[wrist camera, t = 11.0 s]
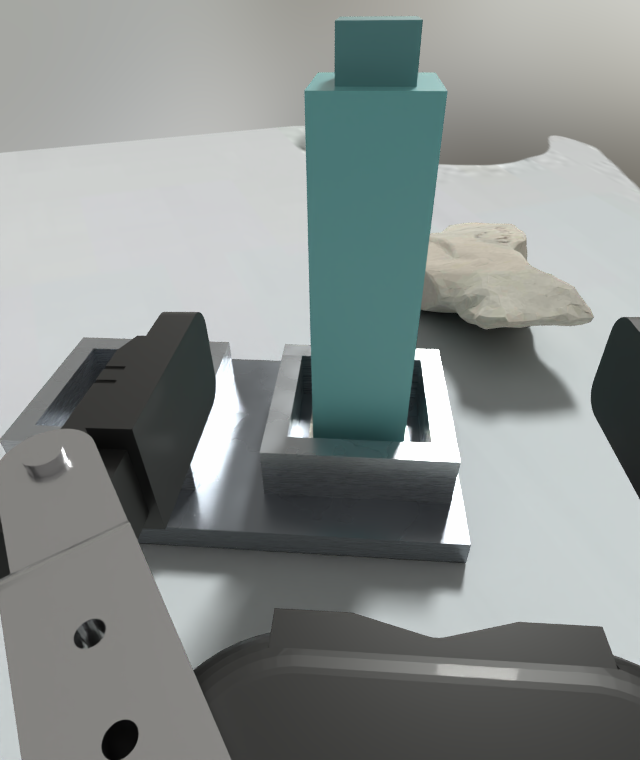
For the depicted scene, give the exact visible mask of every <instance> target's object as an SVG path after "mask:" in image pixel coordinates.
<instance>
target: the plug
mask: <svg viewBox="0 0 640 760" xmlns="http://www.w3.org/2000/svg"><path fill="white" fill-rule="evenodd" d="M422 22H423V20H422V19H421V18H420V17H418V16H381V17H380V16H379V17H377V16H375V17H339V18H338V19H337V20H335V73H317V75H316V76H315V77H314V79H313V80H312V81H311V83H310V84H309V85H308V87H307V88H306V89H305V131H306V171H307V211H308V251H309V292H310V332H311V372H312V412H313V438H327V439H349V440H371V441H393V442H404V441H405V433H406V425H407V417H408V408H409V400H410V392H411V384H412V376H413V368H414V360H415V351H416V343H417V335H418V327H419V319H420V311H421V302H422V294H423V286H424V278H425V270H426V262H427V253H428V245H429V237H430V229H431V221H432V213H433V205H434V196H435V188H436V180H437V172H438V164H439V155H440V147H441V139H442V131H443V123H444V115H445V106H446V98H447V90H446V88H445V87H444V85H443V84H442V82H441V81H440V79H439V77H438V76H437V74H436V73H418V66H419V56H420V45H421V33H422Z"/></svg>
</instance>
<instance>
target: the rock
mask: <svg viewBox="0 0 640 760" xmlns="http://www.w3.org/2000/svg"><path fill="white" fill-rule="evenodd" d="M450 288H451V289H450ZM421 310H425V311H433V312H443V313H458V314H459V316H460V317H461V318H462V319H463V320H465V321H466V322H467V323H470V324H475V325H478V326H479V327H481V328H483V329H492V328H500V327H509V328H524V327H529V326H538V325H558V326H575V325H582V324H586V323H589V322H591V320H592V319H593V318H594V316H593V314H592V312H591V309H590V308H589V307H588V306H587V305H586V303H585V301H584V300H583V299H582V298H581V296H580V295H579V294H578V292H577V290H576V289H575V287H573V286H571V285H570V284H568V283H566V282H564V281H562V280H560V279H558V278H556V277H555V276H553V275H552V274H548V273H545V272H542V271H540V270H538V269H536V268H534V267H532V266H531V265H530V264H529V263H528V262H527V247H526V235H525V233H524V232H523V231H521V230H519V229H518V228H516V227H515V225H512V224H489V223H463V224H456V225H450V226H449V227H448V228H446V229H445V230H444V231H443V232H441V233H431V234H430V237H429V245H428V253H427V262H426V270H425V278H424V286H423V294H422V302H421Z"/></svg>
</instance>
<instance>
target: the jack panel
mask: <svg viewBox="0 0 640 760" xmlns="http://www.w3.org/2000/svg"><path fill="white" fill-rule="evenodd" d="M131 340H132V339H113V338H83V339H82V340H81V341H80V343H79V344H78V345H77V346H76V347H75V349H74V350H73V351H72V352H71V353H70V355H69V356H68V357H67V358H66V360H65V361H64V362H63V363H62V364H61V366H60V367H59V368H58V369H57V371H56V372H55V373H54V374H53V375H52V377H51V378H50V379H49V380H48V382H47V383H46V384H45V385H44V386H43V388H42V389H41V390H40V391H39V392H38V394H37V395H36V396H35V397H34V399H33V400H32V401H31V402H30V403H29V405H28V406H27V407H26V408H25V410H24V411H23V412H22V413H21V414H20V416H19V417H18V418H17V419H16V420H15V422H14V423H13V424H12V425H11V427H10V428H9V429H8V430H7V431H6V433H5V434H4V435H3V436H2V438H1V439H0V442H1V444H2V446H3V448H4V450H5V452H6V453H7V452H8V451H10V450H11V449H12V448H13V447H15V446H16V445H18V444H19V443H21V442H22V441H24V440H26V439H28V438H30V437H32V436H35V435H37V434H40V433H43V432H46V431H51V430H56V429H61V427H62V426H63V425H64V423H65V422H66V420H67V419H68V418H69V416H70V415H71V413H72V412H73V411H74V409H75V408H76V407H77V405H78V404H79V402H80V401H81V400H82V398H83V397H84V395H85V394H86V393H87V391H88V390H89V388H90V387H91V386H92V384H93V383H96V379H97V377H98V376H99V375H100V373H101V372H102V370H103V369H106V365H107V363H108V362H109V361H110V359H111V358H112V356H113V355H114V354H115V352H116V351H117V350H118V349H119V348H120V347H122V346H123V345H125V344H126V343H128V342H129V341H131ZM209 344H210V350H211V355H212V360H213V366H214V371H215V377H216V394H215V400H214V404H213V407H212V410H211V412H210V415H209V417H208V420H207V423H206V425H205V428H204V431H203V433H202V436H201V438H200V441H199V444H198V446H197V449H196V451H195V454H194V457H193V459H192V462H191V464H190V467H189V470H188V472H187V475H186V477H185V480H184V483H183V485H182V488H181V490H180V493H179V496H178V498H177V501H176V503H175V506H174V509H173V511H172V514H171V516H170V519H169V522H168V524H167V527H166V529H142V531H141V534H140V536H139V538H138V543H148V544H164V545H181V546H197V547H214V548H230V549H247V550H263V551H280V552H297V553H313V554H330V555H346V556H363V557H379V558H396V559H412V560H429V561H445V562H462V563H466V561H467V557H468V553H469V550H470V546H471V543H470V538H469V532H468V527H467V521H466V516H465V510H464V505H463V499H462V494H461V488H460V483H459V477H458V471H459V467H460V457H459V452H458V447H457V441H456V436H455V431H454V426H453V421H452V415H451V410H450V405H449V400H448V395H447V390H446V384H445V379H444V374H443V369H442V364H441V358H440V353H439V349H416V351H415V360H414V368H413V376H412V384H411V392H410V400H409V408H408V417H407V425H406V433H405V441H404V442H393V441H371V440H349V439H327V438H313V412H312V372H311V345H293V344H285V347H284V351H283V356H282V360H281V361H269V360H241V359H231V352H230V345H229V342H209Z"/></svg>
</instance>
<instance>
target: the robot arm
mask: <svg viewBox="0 0 640 760" xmlns="http://www.w3.org/2000/svg"><path fill="white" fill-rule="evenodd" d="M215 394H216V377H215V371H214V366H213V360H212V355H211V350H210V344H209V339H208V334H207V328H206V324H205V320H204V317H203V315H202V314H201V313H200V312H163V313H161V314H160V316H159V317H158V319H157V320H156V322H155V323H154V325H153V326H152V328H151V329H150V331H149V332H148V334H147V335H146V336H136V337H135V338H133V339H132V340H131V341H129V342H128V343H126V344H125V345H123V346H122V347H120V348H119V349H118V350H117V351H116V352H115V354H114V355H113V356H112V358H111V359H110V361H109V362H108V363H107V365H106V369H103V370H102V372H101V373H100V375H99V376H98V377H97V379H96V383H93V384H92V386H91V387H90V388H89V390H88V391H87V393H86V394H85V395H84V397H83V398H82V400H81V401H80V402H79V404H78V405H77V407H76V408H75V409H74V411H73V412H72V413H71V415H70V416H69V418H68V419H67V420H66V422H65V423H64V425H63V426H62V427H61V429H56V430H51V431H46V432H43V433H40V434H37V435H35V436H32V437H30V438H28V439H26V440H24V441H22V442H21V443H19V444H18V445H16V446H15V447H13V448H12V449H11V450H10V451H8V452H7V453H6V454H5V455H4V456H3V458H2V459H1V460H0V614H1V621H2V628H3V635H4V642H5V649H6V656H7V662H8V669H9V676H10V683H11V690H12V697H13V704H14V711H15V717H16V724H17V731H18V738H19V745H20V752H21V759H22V760H640V666H639V665H637V664H635V663H632V662H630V661H627V660H625V659H623V658H620V657H617V656H614V655H613V654H612V651H611V649H610V646H609V643H608V641H607V638H606V635H605V633H604V630H603V627H598V626H581V625H563V624H545V623H527V622H516V623H512V624H507V625H502V626H497V627H493V628H488V629H483V630H478V631H474V632H469V633H464V634H459V635H454V636H450V637H444V638H433V637H428V636H425V635H422V634H418V633H415V632H412V631H409V630H406V629H402V628H399V627H396V626H393V625H390V624H387V623H383V622H380V621H377V620H374V619H371V618H367V617H364V616H361V615H358V614H355V613H349V612H331V611H313V610H295V609H277V608H275V609H274V616H273V622H272V629H271V633H267V634H263V635H258V636H255V637H252V638H250V639H247V640H244V641H241V642H239V643H236V644H234V645H232V646H230V647H228V648H226V649H224V650H222V651H220V652H219V653H217V654H216V655H214V656H212V657H211V658H209V659H208V660H206V661H205V662H203V663H202V664H201V665H199V666H198V667H197V668H196V669H194V670H193V669H192V667H191V664H190V662H189V660H188V657H187V655H186V653H185V650H184V648H183V646H182V643H181V641H180V639H179V636H178V634H177V632H176V629H175V627H174V624H173V622H172V620H171V617H170V615H169V613H168V610H167V608H166V606H165V603H164V601H163V599H162V596H161V594H160V592H159V589H158V587H157V585H156V582H155V580H154V578H153V575H152V573H151V571H150V568H149V566H148V564H147V561H146V559H145V557H144V554H143V552H142V550H141V547H140V545H139V543H138V538H139V536H140V534H141V531H142V529H166V527H167V524H168V522H169V519H170V516H171V514H172V511H173V509H174V506H175V503H176V501H177V498H178V496H179V493H180V490H181V488H182V485H183V483H184V480H185V477H186V475H187V472H188V470H189V467H190V464H191V462H192V459H193V457H194V454H195V451H196V449H197V446H198V444H199V441H200V438H201V436H202V433H203V431H204V428H205V425H206V423H207V420H208V417H209V415H210V412H211V410H212V407H213V404H214V400H215ZM591 405H592V410H593V413H594V415H595V417H596V419H597V421H598V423H599V425H600V427H601V428H602V430H603V432H604V434H605V436H606V438H607V440H608V441H609V443H610V445H611V447H612V449H613V451H614V452H615V454H616V456H617V458H618V460H619V462H620V464H621V465H622V467H623V469H624V471H625V473H626V475H627V476H628V478H629V480H630V482H631V484H632V486H633V488H634V489H635V491H636V493H637V495H638V497H639V499H640V317H622V318H620V319H618V320H617V321H616V323H615V324H614V326H613V328H612V330H611V333H610V336H609V339H608V341H607V344H606V347H605V350H604V353H603V356H602V358H601V361H600V364H599V367H598V370H597V373H596V376H595V378H594V381H593V385H592V389H591Z"/></svg>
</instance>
